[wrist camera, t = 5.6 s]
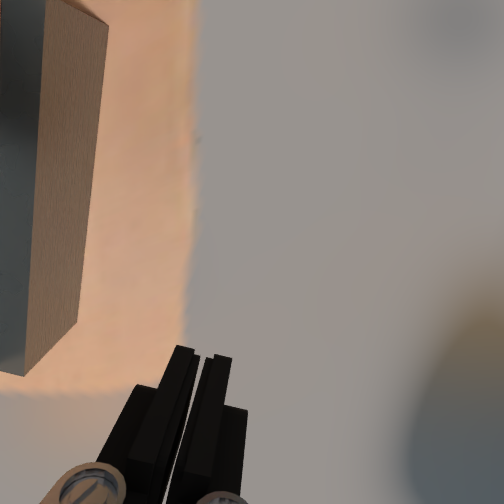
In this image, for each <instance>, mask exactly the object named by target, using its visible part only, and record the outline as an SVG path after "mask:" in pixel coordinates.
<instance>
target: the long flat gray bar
mask: <svg viewBox="0 0 504 504" xmlns="http://www.w3.org/2000/svg"><path fill="white" fill-rule="evenodd" d="M108 30H109V26H108V25H106V24H104V23H102V22H100V21H99V20H97V19H95V18H93V17H91V16H89V15H87V14H85V13H83V12H82V11H80V10H78V9H76V8H74V7H72V6H70V5H68V4H67V3H65V2H63V1H61V0H1V28H0V371H2V372H6V373H10V374H15V375H19V376H23V377H24V376H25V375H26V374H27V373H28V372H29V371H30V370H31V369H32V368H33V367H34V366H35V365H36V364H37V363H38V362H39V361H40V360H41V359H42V358H43V356H44V355H45V354H46V353H47V352H48V351H49V350H50V349H51V348H52V347H53V346H54V345H55V344H56V343H57V342H58V341H59V340H60V339H61V338H62V337H63V336H64V335H65V334H66V333H67V332H68V331H69V330H70V329H71V328H72V327H73V326H74V325H75V324H76V323H77V316H78V307H79V298H80V289H81V279H82V270H83V261H84V252H85V242H86V233H87V224H88V215H89V205H90V196H91V187H92V178H93V169H94V159H95V150H96V141H97V132H98V122H99V113H100V104H101V95H102V85H103V76H104V67H105V58H106V49H107V39H108Z"/></svg>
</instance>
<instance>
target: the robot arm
mask: <svg viewBox="0 0 504 504" xmlns="http://www.w3.org/2000/svg"><path fill="white" fill-rule="evenodd" d="M194 351H195V350H194V349H192V348H188V347H184V346H180V345H176V347H175V349H174V352H173V354H172V356H171V359H170V361H169V363H168V365H167V368H166V370H165V372H164V375H163V377H162V379H161V382H160V384H159V386H158V388H157V389H156V388H152V387H147V386H143V385H139V384H137V385H136V386H135V387H134V389H133V391H132V393H131V395H130V397H129V399H128V401H127V402H126V404H125V406H124V408H123V410H122V412H121V414H120V416H119V418H118V420H117V422H116V424H115V425H114V427H113V429H112V431H111V433H110V435H109V437H108V439H107V441H106V443H105V445H104V447H103V448H102V450H101V453H100V454H99V456H98V458H97V460H96V462H90V463H85V464H82V465H79V466H76V467H74V468H72V469H71V470H69V471H67V472H66V473H65V474H64V475H63V476H62V477H61V478H60V479H59V480H58V481H57V482H56V484H55V485H54V486H53V487H52V489H51V490H50V491H49V492H48V493H47V495H46V496H45V497H44V499H43V500H42V501H41V502H40V504H162V502H163V499H164V495H165V492H166V489H167V485H168V482H169V479H170V475H171V472H172V468H173V465H174V461H175V458H176V455H177V451H178V448H179V445H180V441H181V438H182V434H183V430H184V426H185V422H186V418H187V413H188V409H189V405H190V400H191V396H192V391H193V387H194V383H195V378H196V374H197V370H198V365H199V361H200V356H199V355H195V354H194ZM231 362H232V358H230V357H225V356H221V355H217V354H214V358H213V359H212V358H208V357H206V359H205V363H204V367H203V370H202V373H201V377H200V380H199V383H198V387H197V390H196V394H195V397H194V401H193V404H192V408H191V411H190V414H189V418H188V421H187V425H186V428H185V432H184V435H183V439H182V442H181V446H180V449H179V452H178V456H177V459H176V463H175V467H174V471H173V474H172V479H171V483H170V488H169V492H168V496H167V501H166V504H248V503H247V502H246V501H245V500H244V499H243V498H241V497H240V490H241V480H242V470H243V459H244V449H245V439H246V427H247V417H248V411H247V410H244V409H240V408H236V407H232V406H227V405H224V401H225V396H226V390H227V385H228V379H229V374H230V368H231Z"/></svg>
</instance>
